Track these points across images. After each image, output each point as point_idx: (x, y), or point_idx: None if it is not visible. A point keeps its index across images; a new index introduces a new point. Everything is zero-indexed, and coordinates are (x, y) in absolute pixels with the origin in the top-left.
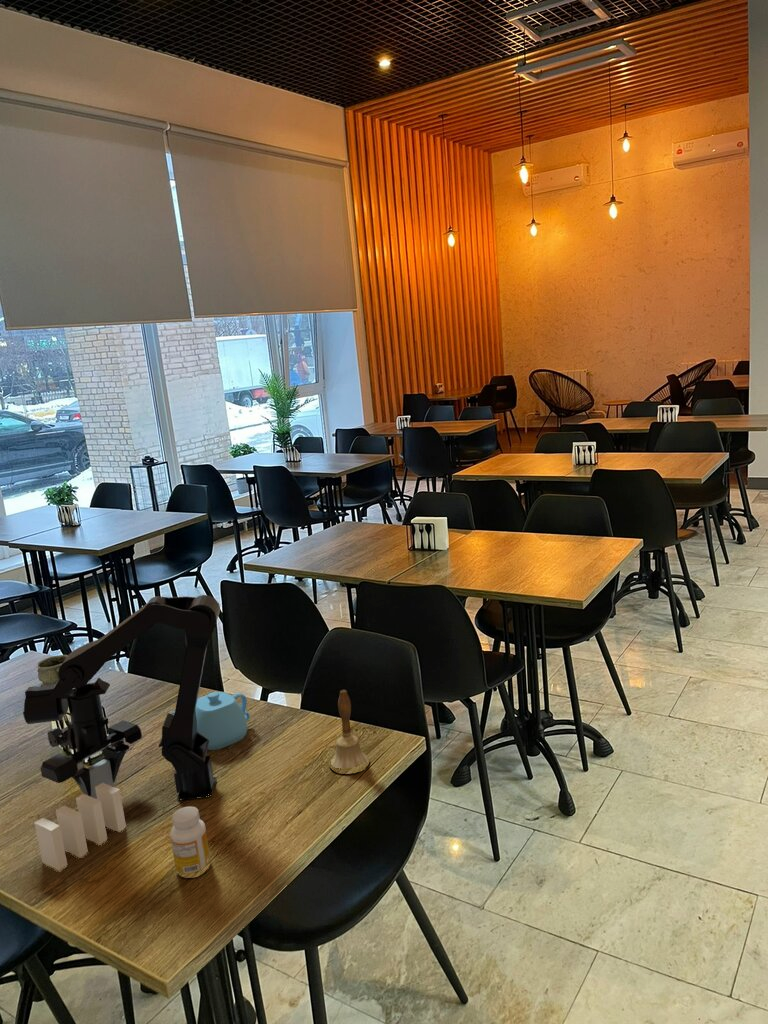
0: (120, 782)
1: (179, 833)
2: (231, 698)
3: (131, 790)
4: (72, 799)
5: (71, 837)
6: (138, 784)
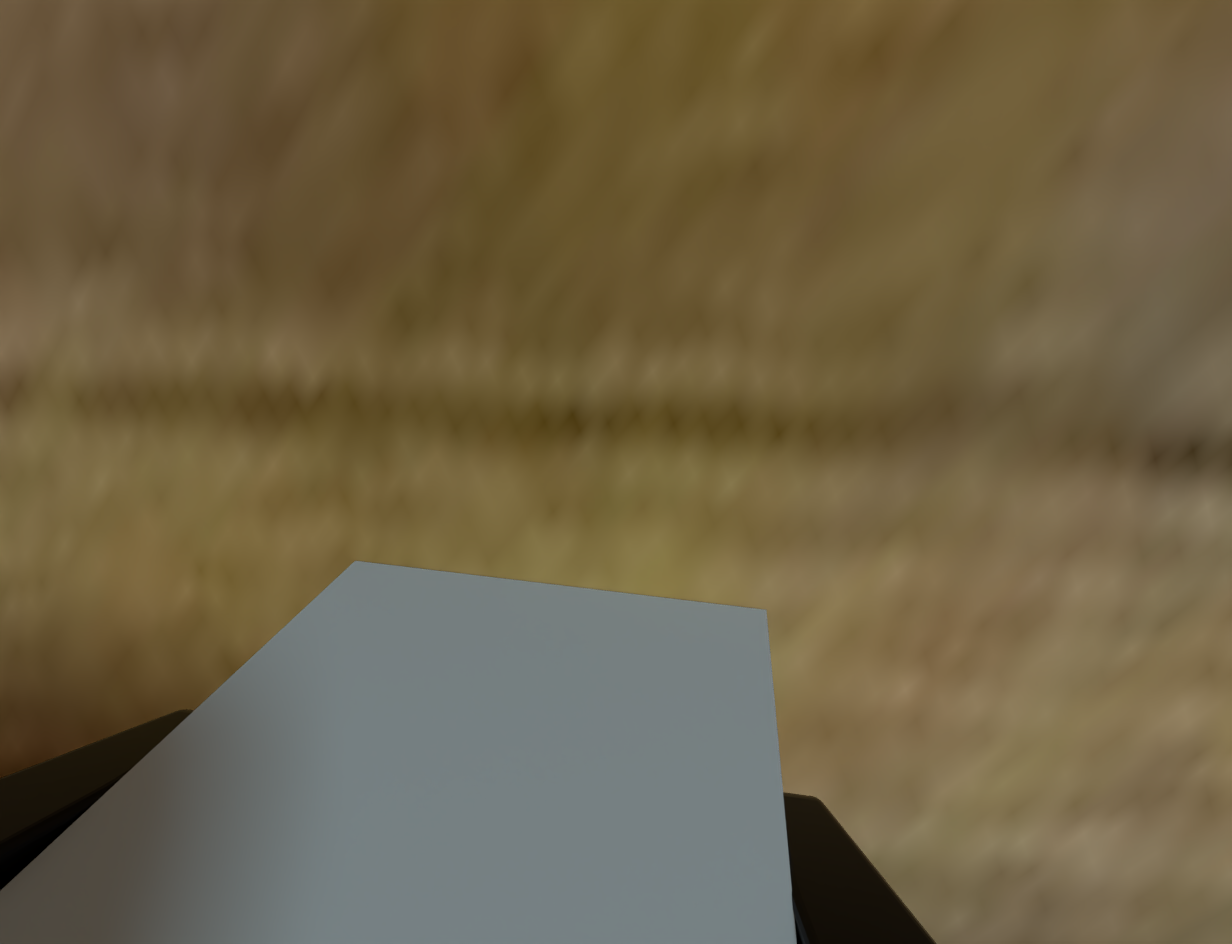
0: (1182, 451)
1: None
2: None
3: (1004, 813)
4: (392, 14)
5: None
6: (1200, 801)
